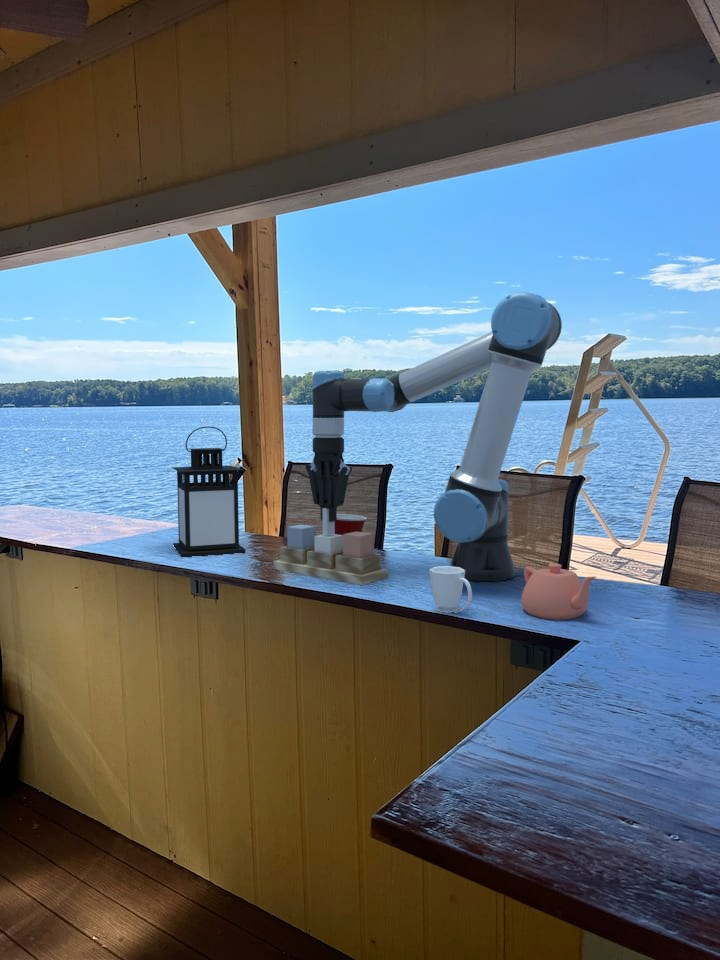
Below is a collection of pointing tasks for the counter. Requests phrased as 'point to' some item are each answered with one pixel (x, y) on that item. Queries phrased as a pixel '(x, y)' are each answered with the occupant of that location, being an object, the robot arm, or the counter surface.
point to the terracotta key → (358, 544)
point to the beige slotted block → (331, 565)
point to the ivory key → (329, 543)
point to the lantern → (207, 505)
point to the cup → (449, 588)
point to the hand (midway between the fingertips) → (328, 534)
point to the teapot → (555, 593)
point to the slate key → (301, 536)
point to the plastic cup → (349, 523)
